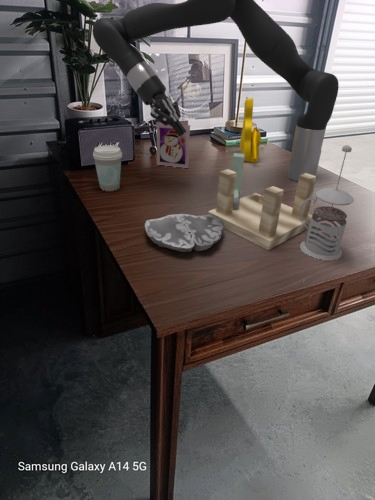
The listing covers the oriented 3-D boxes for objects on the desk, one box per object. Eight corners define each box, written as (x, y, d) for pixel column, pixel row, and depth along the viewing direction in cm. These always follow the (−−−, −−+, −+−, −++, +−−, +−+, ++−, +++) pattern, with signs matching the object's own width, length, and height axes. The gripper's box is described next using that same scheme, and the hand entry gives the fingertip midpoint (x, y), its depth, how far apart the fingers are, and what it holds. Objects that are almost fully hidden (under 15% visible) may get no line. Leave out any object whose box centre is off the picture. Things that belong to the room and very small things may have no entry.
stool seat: (254, 200, 115) (260, 156, 108) (313, 225, 103) (325, 176, 96) (207, 219, 103) (211, 171, 96) (268, 250, 91) (277, 197, 84)
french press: (336, 265, 87) (368, 156, 74) (286, 249, 92) (308, 144, 79) (346, 247, 94) (377, 144, 81) (300, 233, 99) (321, 134, 86)
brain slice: (154, 264, 85) (154, 252, 83) (140, 227, 99) (140, 217, 97) (237, 253, 90) (238, 242, 88) (213, 220, 104) (213, 210, 102)
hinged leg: (239, 209, 103) (244, 169, 97) (228, 208, 103) (232, 168, 97) (239, 190, 114) (244, 153, 108) (229, 190, 114) (233, 153, 108)
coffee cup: (90, 190, 117) (86, 150, 111) (105, 180, 124) (102, 143, 117) (114, 195, 114) (112, 155, 108) (129, 185, 121) (127, 147, 115)
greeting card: (156, 166, 137) (156, 122, 129) (161, 159, 143) (162, 117, 136) (187, 169, 135) (189, 125, 128) (192, 163, 142) (194, 120, 134)
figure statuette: (260, 168, 139) (269, 104, 128) (238, 167, 140) (245, 103, 128) (257, 153, 154) (265, 95, 143) (237, 152, 155) (244, 93, 143)
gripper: (150, 89, 117) (184, 136, 119) (125, 95, 107) (163, 147, 109) (166, 72, 112) (201, 121, 114) (141, 76, 102) (180, 131, 104)
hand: (182, 134), depth 112 cm, fingers closed
